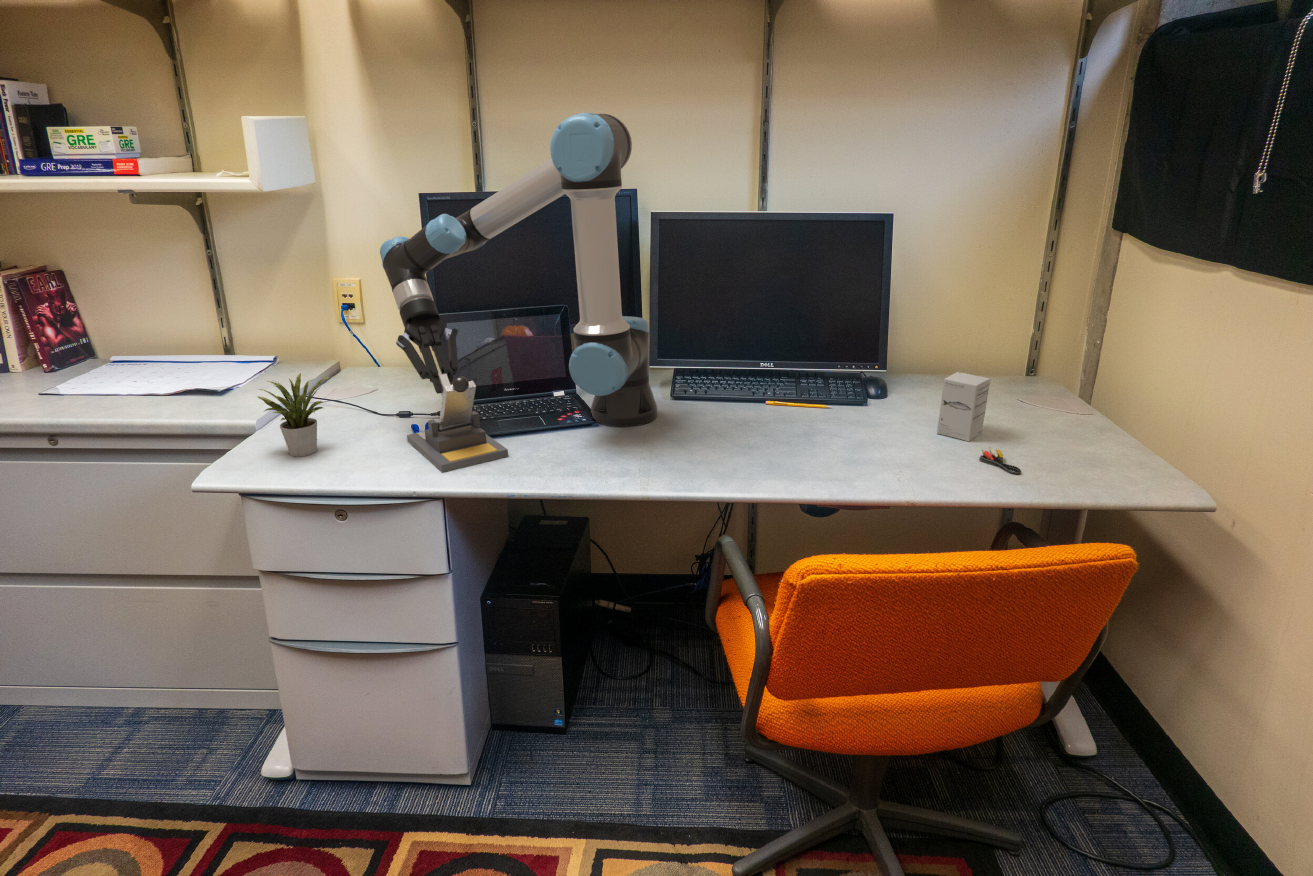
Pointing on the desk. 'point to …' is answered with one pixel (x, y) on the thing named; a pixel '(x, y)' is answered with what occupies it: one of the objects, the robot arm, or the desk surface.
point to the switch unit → (457, 445)
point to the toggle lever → (457, 404)
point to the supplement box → (963, 406)
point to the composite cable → (998, 461)
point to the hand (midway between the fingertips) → (451, 405)
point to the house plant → (297, 417)
